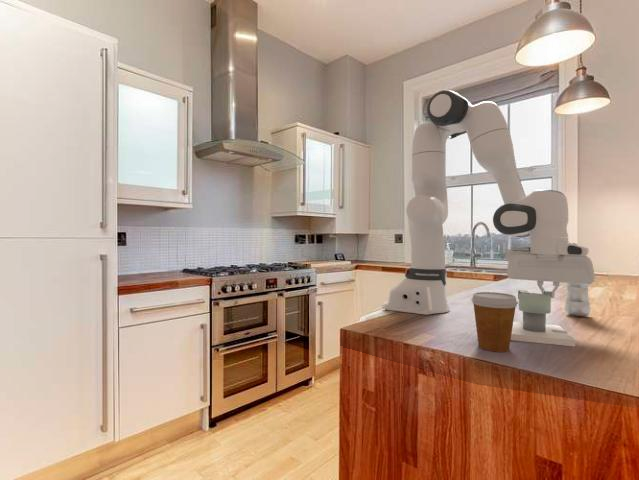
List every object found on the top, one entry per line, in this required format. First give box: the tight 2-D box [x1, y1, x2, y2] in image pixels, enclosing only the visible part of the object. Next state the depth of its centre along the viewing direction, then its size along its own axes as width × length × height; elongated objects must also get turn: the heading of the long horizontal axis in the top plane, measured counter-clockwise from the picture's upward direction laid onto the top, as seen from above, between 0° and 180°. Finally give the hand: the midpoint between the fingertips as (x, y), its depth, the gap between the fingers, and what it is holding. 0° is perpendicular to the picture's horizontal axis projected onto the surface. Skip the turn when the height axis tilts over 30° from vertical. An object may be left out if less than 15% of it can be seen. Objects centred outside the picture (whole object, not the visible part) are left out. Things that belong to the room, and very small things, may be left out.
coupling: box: [517, 289, 552, 315], centre depth 94 cm, size 17×7×4 cm, turn 162°
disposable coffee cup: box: [470, 291, 519, 353], centre depth 80 cm, size 10×10×12 cm
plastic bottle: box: [564, 283, 591, 318], centre depth 111 cm, size 6×7×20 cm
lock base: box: [510, 311, 576, 347], centre depth 90 cm, size 14×14×6 cm
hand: (548, 297), depth 97 cm, fingers closed
